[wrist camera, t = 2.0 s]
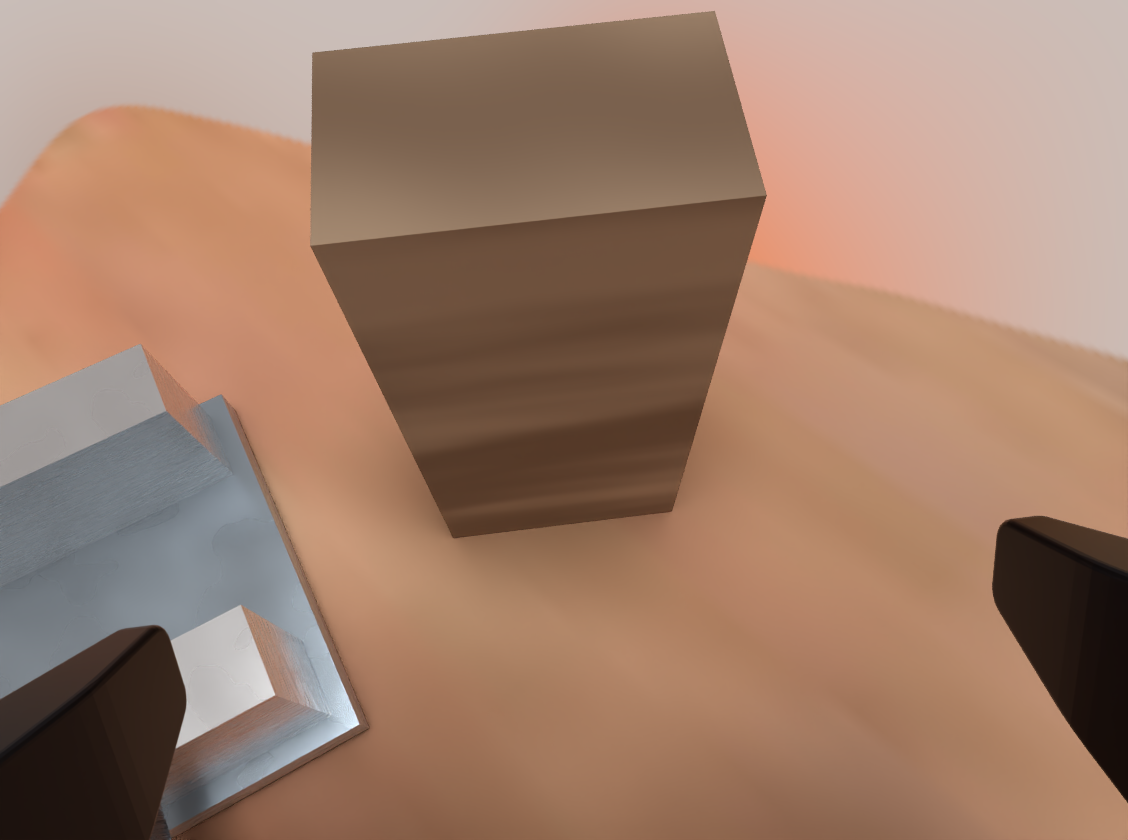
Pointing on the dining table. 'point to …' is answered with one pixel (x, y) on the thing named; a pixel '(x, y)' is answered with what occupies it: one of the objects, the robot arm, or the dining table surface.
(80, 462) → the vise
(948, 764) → the dining table surface
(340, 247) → the walnut slab
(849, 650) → the dining table surface
